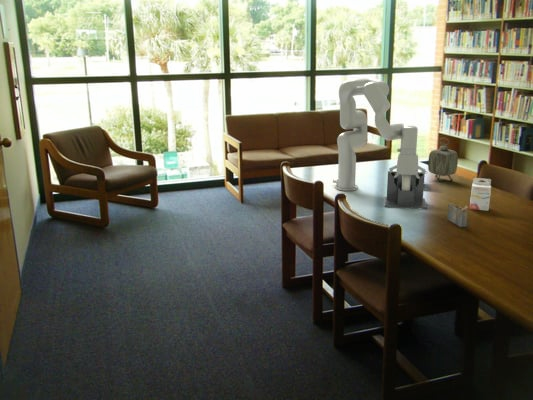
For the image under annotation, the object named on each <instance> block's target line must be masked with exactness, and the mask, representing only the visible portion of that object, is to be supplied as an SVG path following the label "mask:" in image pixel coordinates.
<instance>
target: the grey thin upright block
mask: <svg viewBox="0 0 533 400" xmlns="http://www.w3.org/2000/svg"><path fill="white" fill-rule="evenodd" d="M454 205H455V206H454ZM468 208H470V205H469V206H467V204H465V205H463V207H461V206H459V205H457V204H454V203H448V207H447V214H446V215H447V216H446V220H448V222H449V221H450V222H451V223H453V224H455V225H457V226H458V227H460V228H466V227H467V223H468V213H469V211H468V210H467V209H468Z"/></svg>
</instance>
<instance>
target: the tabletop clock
mask: <svg viewBox="0 0 533 400" xmlns="http://www.w3.org/2000/svg"><path fill="white" fill-rule="evenodd" d="M442 139H443V140H446V141H448V142H447V143H445V142H441V140H442ZM438 142H439V144H440V146H439V148H438V149H433V150H431V151H430V152H429V155H428V162H427V163H428V165H427V166H428V167H427V169H428V170H427V171H428V173H429V172H430V173H431V174H433V175H434V177H435V178H437V179H436V180H437V181H438V182H439V181H441V179H440V178H441V177H448V178H449V181H450V182H453V180H454V179H453V178H452V177H451V176H452V175H456V173H457V170H458V164H459V163H458V162H459V159H458V157H459V155H458V152H457V151H456V150H452V149H449V148H448V145H449V144H450V139H448V138H447V137H440V138H439V140H438Z"/></svg>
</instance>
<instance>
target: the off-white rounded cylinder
mask: <svg viewBox="0 0 533 400" xmlns="http://www.w3.org/2000/svg"><path fill="white" fill-rule="evenodd" d="M410 181H411V175H402V191H410Z"/></svg>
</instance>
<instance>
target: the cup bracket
mask: <svg viewBox="0 0 533 400" xmlns="http://www.w3.org/2000/svg"><path fill="white" fill-rule="evenodd" d="M393 172H394V173H396V172H397V170H396V171H394V170H393ZM420 173H421V171H420V172H419V171H418V175H419V174H420ZM425 175H426V174H425V172H424V174H423V176H421V177H420V178H419V185H417V187H416V186H415V182H416V176H415V175H411V181H410V191H402V175H398V176H397V186H396V185H395V184H394V176H393V175H392V174H391V173H390V170H387V180H386V181H387V182H386V183H387V184H386V196H384V199H383V200H384V208H398V209H401V208H402V209H418V210H419V209H420V210H421V209H423V210H427V208H428V206H427V201H426V199H425V198H424V191H425V190H424V189H425V188H424V187H425V183H424V182H425Z"/></svg>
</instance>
